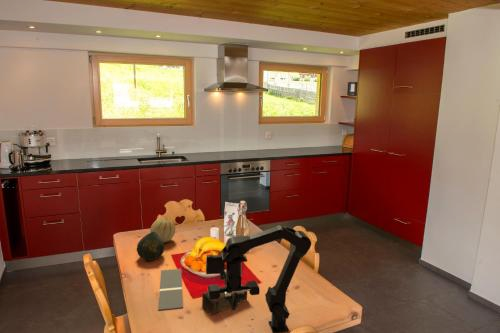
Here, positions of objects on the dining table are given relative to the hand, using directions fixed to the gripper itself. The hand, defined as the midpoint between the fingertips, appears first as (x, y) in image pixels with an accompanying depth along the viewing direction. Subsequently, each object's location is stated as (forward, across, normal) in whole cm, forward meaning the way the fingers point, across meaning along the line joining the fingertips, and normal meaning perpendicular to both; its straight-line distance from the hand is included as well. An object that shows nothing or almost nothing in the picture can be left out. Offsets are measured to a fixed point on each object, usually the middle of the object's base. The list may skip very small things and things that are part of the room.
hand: (233, 310), depth 128 cm
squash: (+9, +34, -69) cm, 77 cm away
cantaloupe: (+9, +28, -90) cm, 95 cm away
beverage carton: (+9, 0, -18) cm, 21 cm away
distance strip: (+8, +23, -35) cm, 43 cm away
